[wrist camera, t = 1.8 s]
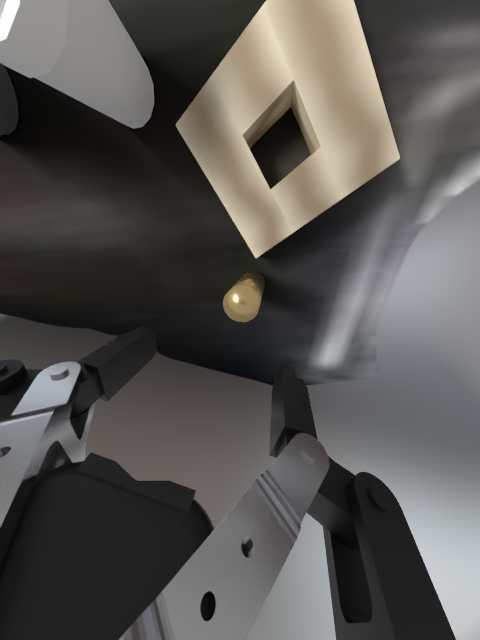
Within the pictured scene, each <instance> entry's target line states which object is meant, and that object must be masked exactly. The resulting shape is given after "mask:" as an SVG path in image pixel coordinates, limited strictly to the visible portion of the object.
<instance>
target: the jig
mask: <svg viewBox="0 0 480 640" xmlns="http://www.w3.org/2000/svg"><path fill="white" fill-rule="evenodd" d="M290 107H291V108H292V111H293V113H294V115H295V118H296V120H297V122H298V125H299V127H300V129H301V132H302V134H303V136H304V139H305V141H306V143H307V146H308V148H309V150H310V153H311V156H309V157H308V158H307V159H306V160H305V161H304V162H302V163H301V164H300V165H299V166H298V167H296V168H295V169H294V170H293V171H292V172H291V173H289V174H288V175H287V176H286V177H285V178H284V179H282V180H281V181H280V182H279V183H278V184H276V185H275V186H274V187H273V188H272V189H271V190H270V188H269V186H268V184H267V182H266V180H265V178H264V176H263V174H262V172H261V170H260V168H259V166H258V164H257V162H256V160H255V158H254V157H253V155H252V153H251V151H250V148H251V147H252V146H253V145H254V144H255V143H256V142H257V141H258V140H259V139H260V138H261V137H262V136H263V135H264V134H265V133H266V131H267V130H268V129H269V128H270V127H271V126H272V125H273V124H274V123H275V122H276V121H277V120H278V119H279V118H280V117H281V116H282V115H283V114H284V113H285V112H286V111H287V110H288V109H289V108H290ZM176 127H177V129H178V130H179V132H180V134H181V135H182V137H183V139H184V140H185V142H186V144H187V145H188V147H189V149H190V150H191V152H192V154H193V155H194V157H195V159H196V160H197V162H198V164H199V165H200V167H201V168H202V170H203V172H204V173H205V175H206V177H207V178H208V180H209V182H210V183H211V185H212V187H213V188H214V190H215V192H216V193H217V195H218V197H219V198H220V200H221V202H222V203H223V205H224V207H225V208H226V210H227V212H228V213H229V215H230V217H231V218H232V220H233V221H234V223H235V225H236V226H237V228H238V230H239V231H240V233H241V235H242V236H243V238H244V240H245V241H246V243H247V245H248V246H249V248H250V250H251V251H252V253H253V255H254V256H255V258H257V257H259V256H260V255H262V254H263V253H265V252H266V251H267V250H269V249H270V248H272V247H273V246H275V245H276V244H278V243H279V242H280V241H282V240H283V239H285V238H286V237H288V236H289V235H291V234H292V233H294V232H295V231H296V230H298V229H299V228H301V227H302V226H304V225H305V224H307V223H308V222H309V221H311V220H312V219H314V218H315V217H317V216H318V215H320V214H321V213H322V212H324V211H325V210H327V209H328V208H330V207H331V206H333V205H334V204H335V203H337V202H338V201H340V200H341V199H343V198H344V197H346V196H347V195H348V194H350V193H351V192H353V191H354V190H356V189H357V188H359V187H360V186H361V185H363V184H364V183H366V182H367V181H369V180H370V179H372V178H373V177H374V176H376V175H377V174H379V173H380V172H382V171H383V170H385V169H386V168H387V167H389V166H390V165H392V164H393V163H395V162H396V161H398V160H399V159H400V156H399V152H398V149H397V146H396V142H395V139H394V135H393V132H392V129H391V125H390V122H389V118H388V115H387V112H386V108H385V105H384V101H383V98H382V95H381V91H380V88H379V84H378V81H377V78H376V74H375V71H374V67H373V64H372V61H371V57H370V54H369V50H368V47H367V44H366V40H365V37H364V33H363V30H362V27H361V23H360V20H359V16H358V13H357V10H356V6H355V3H354V0H266V1H265V3H264V4H263V6H262V7H261V8H260V10H259V11H258V12H257V14H256V15H255V17H254V18H253V19H252V21H251V22H250V23H249V25H248V26H247V27H246V29H245V30H244V32H243V33H242V34H241V36H240V37H239V38H238V40H237V41H236V43H235V44H234V45H233V47H232V48H231V49H230V51H229V52H228V53H227V55H226V56H225V58H224V59H223V60H222V62H221V63H220V64H219V66H218V67H217V69H216V70H215V71H214V73H213V74H212V75H211V77H210V78H209V79H208V81H207V82H206V84H205V85H204V86H203V88H202V89H201V90H200V92H199V93H198V95H197V96H196V97H195V99H194V100H193V101H192V103H191V104H190V105H189V107H188V108H187V110H186V111H185V112H184V114H183V115H182V116H181V118H180V119H179V121H178V122H177V123H176Z"/></svg>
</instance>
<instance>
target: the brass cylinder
mask: <svg viewBox="0 0 480 640" xmlns="http://www.w3.org/2000/svg"><path fill="white" fill-rule="evenodd" d="M264 287H265V280H264V277H263V276H262V275H261V274H260V273H259V272H257V271H248V272H246V273H245V274H244V275H243V276H242V277H241V278H240V279H239V280H238V281H237V282H236V284H235V285H234V286H233V287H232V288H231V289H230V290H229V291H228V293H227V294H226V295H225V297H224V300H223V307H224V310H225V312H226V314H227V315H228V316H229V317H230V318H231V319H233V320H235V321H238V322H247V321H250V320H252V319H253V318H254V317H255V316H256V315H257V313H258V311H259V307H260V303H261V299H262V295H263V291H264Z"/></svg>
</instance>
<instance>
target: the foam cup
mask: <svg viewBox="0 0 480 640" xmlns="http://www.w3.org/2000/svg"><path fill="white" fill-rule="evenodd" d="M0 63H1V64H3V65H4V66H6V67H8V68H10V69H12V70H14V71H16V72H18V73H20V74H22V75H24V76H26V77H28V78H33V77H34V78H36V79H38V80H40V81H42V82H44V83H46V84H48V85H49V86H51V87H53V88H55V89H57V90H59V91H61V92H63V93H65V94H67V95H69V96H71V97H72V98H74V99H76V100H78V101H80V102H82V103H84V104H86V105H88V106H90V107H92V108H94V109H95V110H97V111H99V112H101V113H103V114H105V115H107V116H109V117H111V118H113V119H115V120H117V121H118V122H120V123H122V124H124V125H126V126H128V127H131V128H133V129H134V128H139V127H143V126H144V125H145V124H146V123H147V121H148V120H149V119H150V117H151V114H152V110H153V106H154V85H153V82H152V79H151V76H150V73H149V70H148V67H147V66H146V64H145V62H144V60H143V58H142V57H141V55H140V53H139V52H138V50H137V48H136V46H135V45H134V43H133V41H132V40H131V38H130V36H129V35H128V33H127V31H126V30H125V28H124V26H123V24H122V23H121V21H120V19H119V18H118V16H117V14H116V13H115V11H114V9H113V7H112V6H111V4H110V2H109V1H108V0H0Z"/></svg>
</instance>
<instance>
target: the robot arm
mask: <svg viewBox="0 0 480 640" xmlns="http://www.w3.org/2000/svg"><path fill="white" fill-rule="evenodd" d="M18 114H19V113H18V103H17V98H16V94H15V91H14V87H13V84H12V82H11V79H10V77H9V75H8V73H7V70H6V69H5V67H4V65H3V64H1V63H0V137H1V135H7V134H10V133H12V132H13V131H14V130H15V128H16V126H17V123H18ZM155 353H156V336H155V330H154V329H151V328H147V327H143V326H140V327H138V328H137V329H135V330H134V331H132V332H128V333H125V334H122V335H120V336H118V337H117V338H115V339H114V340H113V341H110V342H109V343H107V344H106V345H104V346H102V347H101V348H99V349H97V350H96V351H94V352H93V353H91V354H89V355H88V356H87V357H85V358H83V359H81V360H80V361H78V362H63V363H58V364H55V365H52V366H50V367H48V368H46V369H44V370H29V369H28V370H27V369H26V368H25V366H24V365H23V363H22V362H21V361H19V360H3V361H0V640H246V638H247V636H248V634H249V632H250V630H251V628H252V626H253V624H254V622H255V620H256V618H257V616H258V615H259V613H260V611H261V609H262V607H263V604H264V603H265V600H266V599H267V597H268V595H269V593H270V591H271V589H272V587H273V585H274V583H275V581H276V579H277V577H278V575H279V573H280V571H281V569H282V567H283V565H284V563H285V561H286V559H287V557H288V555H289V553H290V551H291V549H292V547H293V545H294V543H295V541H296V539H297V537H298V534H299V532H300V528H301V527H300V525H301V522H302V520H303V518H304V516H305V514H306V512H307V513H308V514H309V515H310V516H312V517H313V518H314V519H315V520H317V521H318V522H319V523H320V524H321V525H322V526H323V530H324V539H325V547H326V556H327V564H328V572H329V581H330V589H331V598H332V607H333V614H334V624H335V632H336V640H456V639H455V636H454V634H453V631H452V629H451V627H450V624H449V622H448V619H447V617H446V615H445V612H444V610H443V607H442V605H441V602H440V600H439V598H438V595H437V593H436V591H435V588H434V586H433V583H432V581H431V579H430V576H429V574H428V571H427V569H426V567H425V564H424V562H423V559H422V557H421V555H420V552H419V550H418V548H417V545H416V543H415V540H414V538H413V535H412V533H411V531H410V528H409V526H408V523H407V521H406V519H405V516H404V514H403V511H402V509H401V507H400V505H399V503H398V501H397V499H396V498H395V496H394V495H393V493H392V492H391V491H390V490H389V488H388V487H387V486H386V485H385V484H384V483H383V482H382V481H381V480H379V479H378V478H377V477H375V476H374V475H372V474H370V473H367V472H360V473H358V474H357V475H356V476H355V475H354V474H352V473H351V472H349V471H348V470H346V469H345V468H343V467H342V466H340V465H339V464H337V463H336V462H335V461H333V460H332V459H331V458H330V457H329V456H328V454H327V452H326V450H325V448H324V447H323V445H322V444H321V443H320V442H319V441H318V439H317V435H316V430H315V425H314V420H313V415H312V410H311V406H310V399H309V394H308V390H307V387H306V385H305V384H304V382H303V380H301V379H297V378H296V374H295V369H294V368H292V367H288V366H285V365H281V366H280V368H279V371H278V373H277V376H276V378H275V381H274V384H273V388H272V400H271V402H272V403H271V427H270V456H273V457H276V459H275V461H274V462H273V463H272V464H271V466H270V467H269V468H268V469H267V470H266V471H265V472H264V473H263V474H261V475H260V476H259V477H258V478H257V479H256V481H255V482H254V483H253V484H252V485H251V486H250V488H249V489H248V490H247V491H246V492H245V493H244V495H243V496H242V497H241V498H240V499H239V501H238V502H237V503H236V504H235V505H234V507H233V508H232V509H231V510H230V511H229V512H228V514H227V515H226V516H225V517H224V518H223V520H222V521H221V522H220V523H219V524H218V526H217V527H216V528H215V529H214V527H213V525H212V522H211V520H210V518H209V516H208V515H207V513H206V511H205V510H204V508H203V507H202V506H201V505H200V504H199V503H198V502H197V501H196V500H195V493H196V491H195V490H193V489H190V488H187V487H185V486H182V485H179V484H176V483H174V482H171V481H137V480H135V479H133V478H132V477H131V476H130V475H129V474H128V473H127V472H126V471H125V470H124V469H123V468H122V467H121V466H120V465H119V464H118V463H117V462H116V461H113V460H110V459H108V458H105V457H102V456H99V455H97V454H94V453H90V454H89V455H88V457H87V458H86V459H85V442H86V438H87V434H88V430H89V426H90V422H91V418H92V414H93V410H94V406H95V405H94V402H95V401H96V400H97V399H102V400H105V401H109V400H110V399H111V398H112V397H113V396H114V395H115V394H116V393H117V392H118V391H119V390H120V389H121V388H122V387H123V386H124V385H125V384H126V383H127V382H128V381H129V380H130V379H132V377H133V376H134V375H136V374H137V373H138V372H139V371H140V370H141V369H142V368H143V367H144V366H145V365H146V364H147V363H148V362H149V361H150V360H151V359H152V358H153V357H154V355H155Z"/></svg>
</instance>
